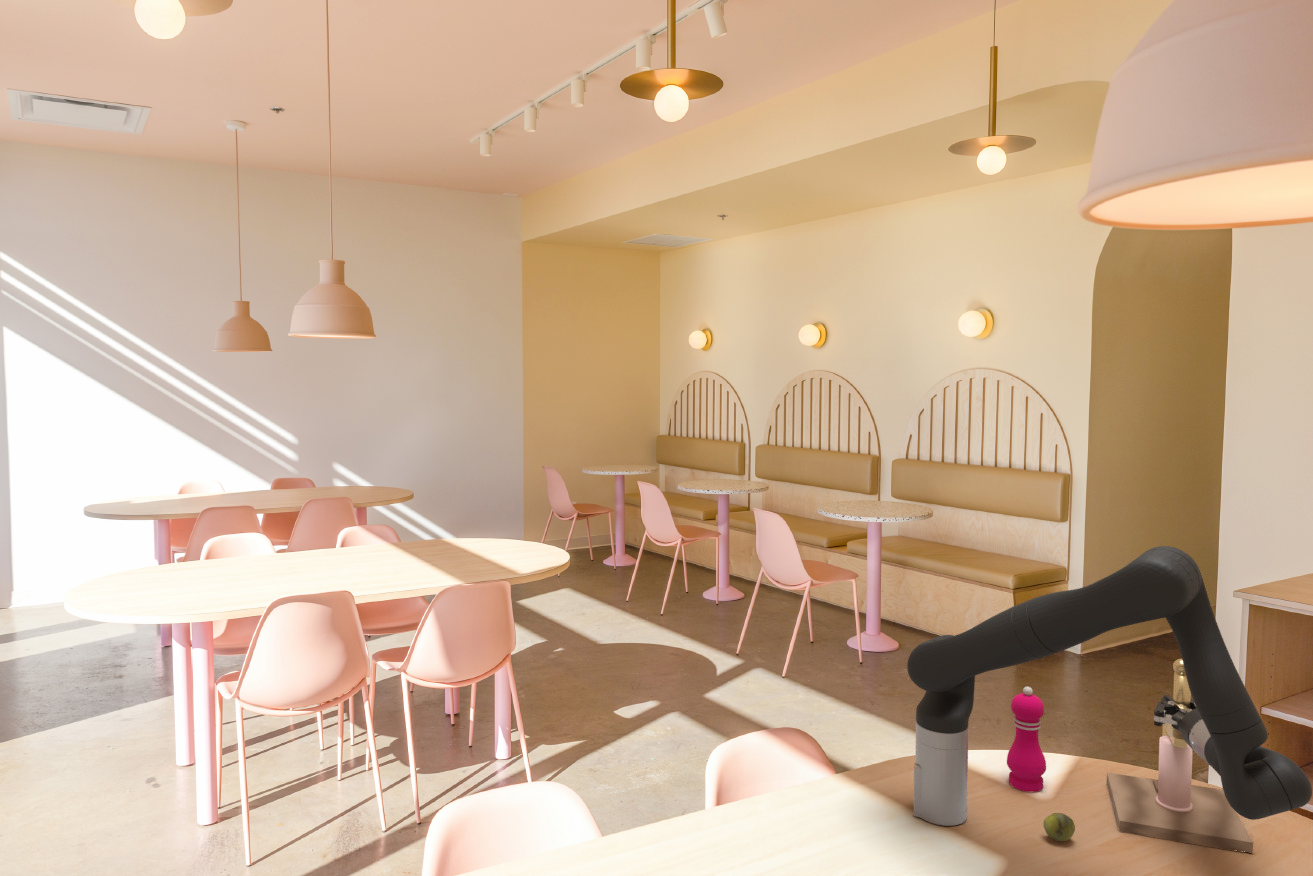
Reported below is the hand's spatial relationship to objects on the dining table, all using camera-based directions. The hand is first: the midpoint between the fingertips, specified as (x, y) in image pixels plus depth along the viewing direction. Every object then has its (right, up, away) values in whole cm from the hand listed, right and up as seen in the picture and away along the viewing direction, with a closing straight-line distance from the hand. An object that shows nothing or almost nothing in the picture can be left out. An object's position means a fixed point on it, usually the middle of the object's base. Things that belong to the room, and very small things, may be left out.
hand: (1175, 700), depth 155 cm
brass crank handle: (+2, -18, +4) cm, 19 cm away
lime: (-24, -23, -6) cm, 34 cm away
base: (+1, -22, +2) cm, 22 cm away
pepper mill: (-21, -21, +15) cm, 33 cm away
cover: (+1, -20, +2) cm, 20 cm away
